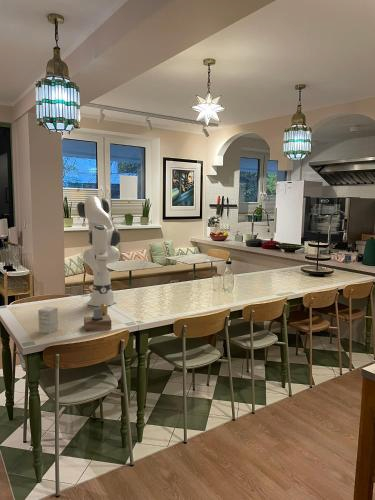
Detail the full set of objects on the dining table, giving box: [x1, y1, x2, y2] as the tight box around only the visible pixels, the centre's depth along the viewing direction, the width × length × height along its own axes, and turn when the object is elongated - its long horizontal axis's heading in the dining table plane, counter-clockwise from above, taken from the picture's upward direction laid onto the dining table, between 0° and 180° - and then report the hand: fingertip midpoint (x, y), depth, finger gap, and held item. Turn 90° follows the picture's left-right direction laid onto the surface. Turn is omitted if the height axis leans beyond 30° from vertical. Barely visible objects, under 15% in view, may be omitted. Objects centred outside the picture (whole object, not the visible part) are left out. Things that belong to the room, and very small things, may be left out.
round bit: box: [100, 304, 108, 316], centre depth 225 cm, size 4×4×10 cm
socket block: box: [83, 314, 112, 332], centre depth 214 cm, size 10×14×5 cm
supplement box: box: [37, 305, 59, 334], centre depth 207 cm, size 7×7×13 cm
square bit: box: [92, 306, 102, 321], centre depth 214 cm, size 4×4×10 cm
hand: (99, 277), depth 219 cm, fingers open, 8 cm apart
